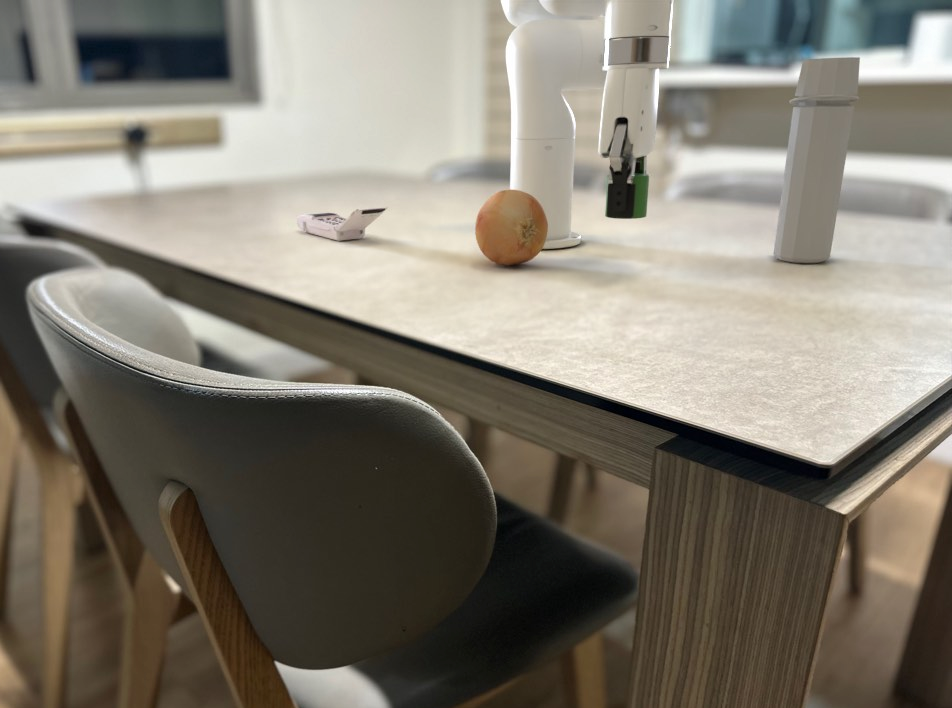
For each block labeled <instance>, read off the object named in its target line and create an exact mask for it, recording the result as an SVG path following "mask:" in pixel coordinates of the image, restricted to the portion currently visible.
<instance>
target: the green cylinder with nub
mask: <svg viewBox="0 0 952 708" xmlns="http://www.w3.org/2000/svg"><path fill="white" fill-rule="evenodd" d="M606 177H607V178H606V194H605V209H604V211H605V212H604V213H605V214H604V216H605V217H606V218H609V217H607V197H608V184H609V182H608V179H609V174H607V176H606ZM633 184H636V189H635V204H634V216H633V217H632V218H615V219H616V220H617V219H618V220H633V219H635V220H636V219H643V218H646V217H647V214H648V199H649V185H650V174H649V173H646V174H640V173H634V179H633ZM609 219H610V218H609Z"/></svg>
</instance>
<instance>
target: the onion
mask: <svg viewBox="0 0 952 708" xmlns="http://www.w3.org/2000/svg"><path fill="white" fill-rule="evenodd" d="M547 232H548V221H547V218H546V215H545V212H544V210H543V208H542V206H541V204H540V203H539V202H538V201H537V200H536V199H535V198H534V197H533V196H531V195H530V194H528V193H525V192H522V191H519V190H510V189H504V190H503V189H502V190H500V191H498V192H496V193H494V194H493V195H491V196H490V197H489V198H487V200H485V202H484V204H483V205H482V207H481V208H480V209H479V211H478V213H477V216H476V220H475V232H474V234H475V240H476V243H477V246H478V248H479V249H480V251H481V253H482V254H483V256H485V257H486V258H487V259H488V260H490V261H491V262H493V263H495V264H499V265H503V266H512V265H514V266H515V265H520V264H524V263H528V262H530V261H532V260H533V259H534V258H535V257H536V256H538V254H539V253H541V252H542V250H543V249H542V248H543V246H544V244H545V241H546V237H547Z"/></svg>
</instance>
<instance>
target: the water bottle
mask: <svg viewBox="0 0 952 708" xmlns="http://www.w3.org/2000/svg"><path fill="white" fill-rule="evenodd" d="M860 60H861V57H859V56H857V57H853V56H851V57H850V56H849V57H847V56H846V57H821V58H820V57H819V58H807V59H802V62H801V63H802V64H801V68H800V72H799V76H798V81H797V85H796V89H795V94H794V98H792V99H790V100H789V104H791V105H795V106H793V107H792V113H791V120H790V129H789V135H788V144H787V150H786V159H785V164H784V165H785V166H784V173H783V180H782V188H781V194H780V201H779V202H780V203H779V209H778V210H779V211H778V216H777V217H778V218H777V224H776V231H775V232H776V233H775V240H774V247H773V255H774V257H775V258H776V259H777V260H780V261H782V262H786V263H793V264H819V263H823V262H825V261H827V260H828V259H829V258H830V257H831V253H832V252H831V251H832V247H833V240H834V236H835V235H834V234H835V228H836V221H837V217H838V216H837V215H838V208H839V202H840V198H841V190H842V185H843V178H844V171H845V165H846V159H847V154H848V147H849V141H850V136H851V129H852V123H853V116H854V111H855V105H852V104H850V103H854V102H856V101H859V100H860V97H859V96H858V95H859V93H858V92H859V78H860V63H861V62H860Z"/></svg>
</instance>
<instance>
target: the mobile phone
mask: <svg viewBox="0 0 952 708" xmlns="http://www.w3.org/2000/svg"><path fill="white" fill-rule="evenodd" d="M388 208H389V206H386V207H378V208H376V207H375V208H367V209H366V208H365V209H359V208H356V209H355V210H353V211H352V212H351V213H350V215H349V216H348V217H347V218H346V217H343V216H340V214H338V213H335V212H321V213H310V214H309V213H308V214H300V215H296V226H297V227H298V228H299V229H300V230H302V231H303V233H307V234H311V235H316V236H319V237H322V238H326V239H330V240H334V241H338V242H343V241H351V240H359V239H363V238H364V237H365V234H366V228H367V227H368V226H370V225H371V224H372V223H373V222H374V221H375V220H377V219H378V218H379V217H380V216H381V215H382V214H383V213H384V212H386V211H387V210H388Z"/></svg>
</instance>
